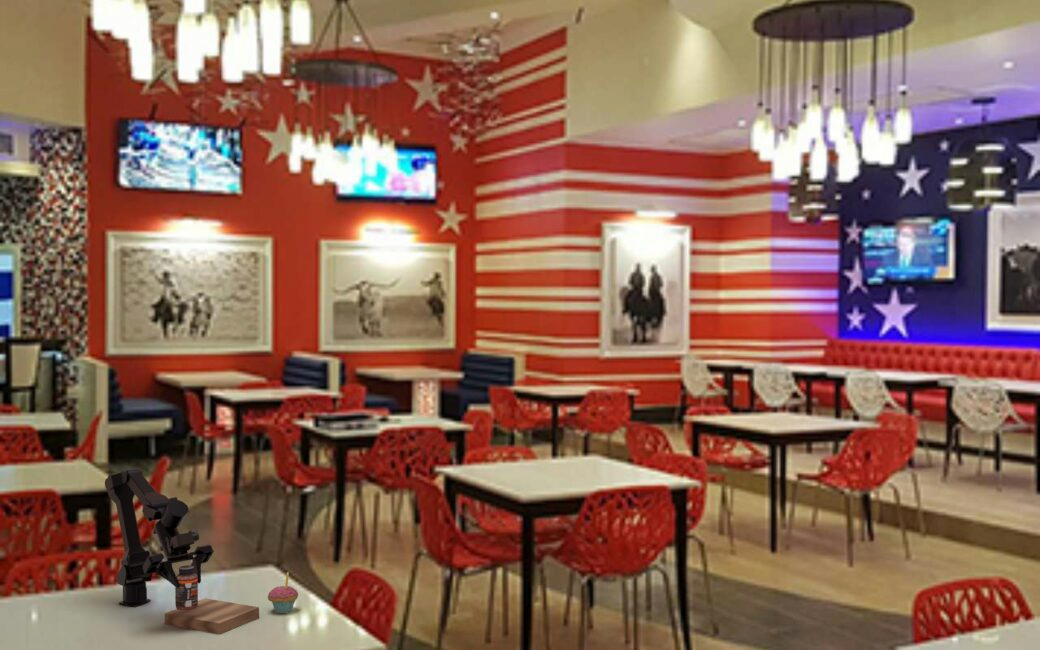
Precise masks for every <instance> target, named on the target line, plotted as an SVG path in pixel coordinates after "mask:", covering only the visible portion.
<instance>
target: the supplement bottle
mask: <svg viewBox="0 0 1040 650" xmlns="http://www.w3.org/2000/svg"><path fill="white" fill-rule="evenodd" d="M190 565H191V564H190ZM190 565H189V564H188V565H181V566H179V568H178V574H177V575H176V577H177V579H178V582H179V588H176V587H175V586H174V587H175V588H174V590H175V592H174V593H175V594H174V595H175V596H174V597H175V609H178V610H191V609H194V608H196V607H197V606H198V601H199V583H198V576H197V574H195V572H194V566H190Z"/></svg>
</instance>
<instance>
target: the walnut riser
mask: <svg viewBox="0 0 1040 650" xmlns="http://www.w3.org/2000/svg"><path fill="white" fill-rule="evenodd" d="M163 615H164V616H163V618H164V621H163V622H164V625H168V626H173V627H177V628H184V629H189V630H194V631H195V630H196V631H199V632H207V633H209V634H210V633H211V634H217V635H222V634H224V633H226V632H228V631H231V630H233V629H236V628H239V627H240V626H242V625H245V624H247V623H250V622H253V621H256V620H257V619H260V606H253V605H248V604H242V603H237V602H229V601H224V600H219V599H218V600H217V599H211V598H207V597H206V598H205V597H204V598H203V599H201V600H199V599H198V606H197V607H196V608H194V609H191V610H178V609H176V608H175V609H173V610H169V611H168V612H167V611H166V612H165V613H164V614H163Z"/></svg>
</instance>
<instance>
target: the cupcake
mask: <svg viewBox="0 0 1040 650" xmlns="http://www.w3.org/2000/svg"><path fill="white" fill-rule="evenodd" d="M289 577H290V573H289V570H288V571H287V573H286V577H285V584H284V585H280V586H276V587H273V589H271V590H270V591H269V593H268V595H267V601H269V602H271V603H272V606H273V608H274V612H275V613H277V614H288V613H291V612H292V611H293V607H294V604H295V602H296V600H297V599H298V597H299V592H298V590H296V588H294V587H293V586H291V585H289V584H288V583H289ZM287 612H288V613H287Z"/></svg>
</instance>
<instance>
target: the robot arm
mask: <svg viewBox="0 0 1040 650" xmlns="http://www.w3.org/2000/svg"><path fill="white" fill-rule="evenodd" d="M104 479H105V478H104ZM104 488H105V489H106V492H107V494H108V497H109V498H110V499H111V501H113V503H114V504H115V506H116V512H117V517H118V521H119V527H120V531H121V539H122V542H123V544H122V545H123V548H124V553H123V554H122V555H123V556H122V557H121V561H120V565H121V566H120V569H119V570H118V573H117V574H116V583H117V584H118V585H120V586H122V601H119V602H118V604H119V605H123V606H128V607H137V606H140V605H143V604H146V603H149V602H151V599H150V598H148V587H147V582H150V581H151V582H152V578H153V574H155V576H160V577H162V578H163V579H164V580H166V581H168V583H170V584H171V585H173V587H176V588H179V582H178V579H177V577H176V576H177V575H176V573H175V570H174V568H173V564H176V563H181V562H187V561H189V562H190V563H191V564H190V566H194V572H195V574H197V576H198V584H200V583H202V564H206V563H208V562H209V560H210V559H211V557H212V555H213V554H214V551H215V550H214V548H213V546H212V545H211V544H209V543H208V544H203V545H197V546H196V548H195V550H194V551H192V552H188V551H190V549H192V547H191V545H194V544H195V543H196V542H197V541H200V535H199V534H200V533H199V532H198V530H197V528H195V529H190V530H189V531H187V532H186V533H180V530H179V527H180V526H181V525H182V524H183V522H184V520H185V518H186V517H187V514H188V513H189V506H188V504H186V503H185V502H184V501H182V500H179V499H178V496H175V497H170V498H169V497H167V496H166V495H165V494H163V493H160V492H159V493H158V492H157V491H156V489H154V487H153V486H152V484H151V483H150V482H149V481H148V479H147V478H146V477H145V476H144V473H143V470H142V469H141V468H136V467H135V468H129V469H125V470H122V471H121V472H117V473H110V474H108V476H107V478H106V479H105V481H104ZM135 497H137V499H138V500H139V501H140V503H141V505H142V510H141V511H142V514H143V517H144V518H145V519H146V520H147V521H148V522H153V521H154V522H155V521H157V522H156V523H155V524H154V526H153V527H154V528H153V530H152V534H153V535H156V536H157V538H158V541H159V543H160V547H159V550H160V553H155V554H151V553H150V550H146V549H145V548H144V547H143V546H142V541H141V537H140V532H139V526H138V520H137V516H136V509H135V504H134V498H135ZM161 552H163V553H164V554H163V553H161ZM164 555H165V556H164Z"/></svg>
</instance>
